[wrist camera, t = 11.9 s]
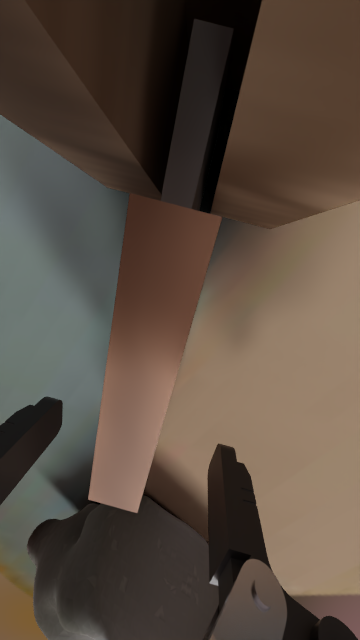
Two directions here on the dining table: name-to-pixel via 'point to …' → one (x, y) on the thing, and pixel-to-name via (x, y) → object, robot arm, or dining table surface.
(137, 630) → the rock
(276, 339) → the dining table surface
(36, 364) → the dining table surface
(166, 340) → the bed rail
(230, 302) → the dining table surface
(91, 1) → the slotted tan block
